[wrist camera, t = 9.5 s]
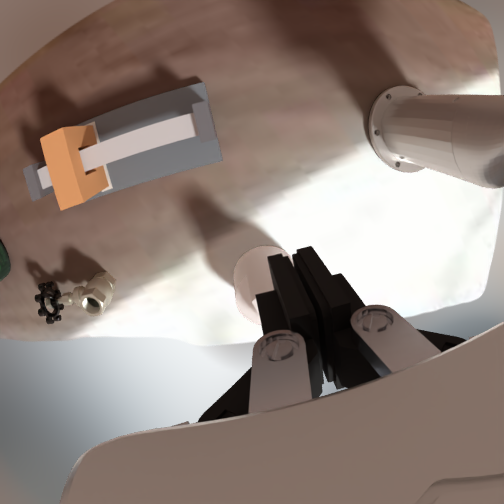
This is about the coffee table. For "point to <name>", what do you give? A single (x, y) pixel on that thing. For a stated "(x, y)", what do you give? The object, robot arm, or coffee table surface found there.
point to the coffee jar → (4, 262)
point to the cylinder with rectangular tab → (253, 279)
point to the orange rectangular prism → (72, 165)
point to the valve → (77, 297)
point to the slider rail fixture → (144, 141)
